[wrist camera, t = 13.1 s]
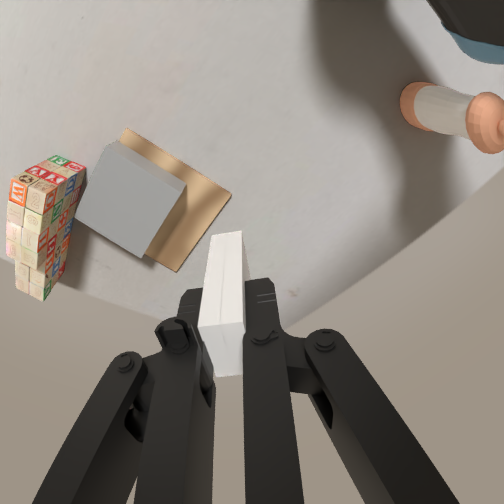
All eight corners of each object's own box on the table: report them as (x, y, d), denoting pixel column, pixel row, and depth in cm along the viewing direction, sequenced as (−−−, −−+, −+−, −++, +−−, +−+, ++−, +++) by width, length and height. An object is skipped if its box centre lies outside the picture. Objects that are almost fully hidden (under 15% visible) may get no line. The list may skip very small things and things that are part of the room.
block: (181, 192, 40) (105, 146, 36) (141, 258, 44) (73, 217, 40) (186, 182, 43) (117, 139, 40) (148, 244, 48) (86, 205, 44)
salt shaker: (445, 110, 39) (532, 137, 22) (416, 136, 41) (499, 175, 24) (421, 72, 36) (509, 81, 19) (390, 99, 38) (473, 118, 22)
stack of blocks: (65, 272, 51) (35, 314, 40) (38, 259, 49) (6, 298, 39) (87, 166, 42) (45, 194, 31) (55, 153, 40) (9, 178, 30)
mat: (231, 193, 45) (231, 195, 45) (176, 270, 51) (176, 272, 51) (127, 128, 39) (125, 128, 39) (84, 214, 46) (83, 216, 45)
